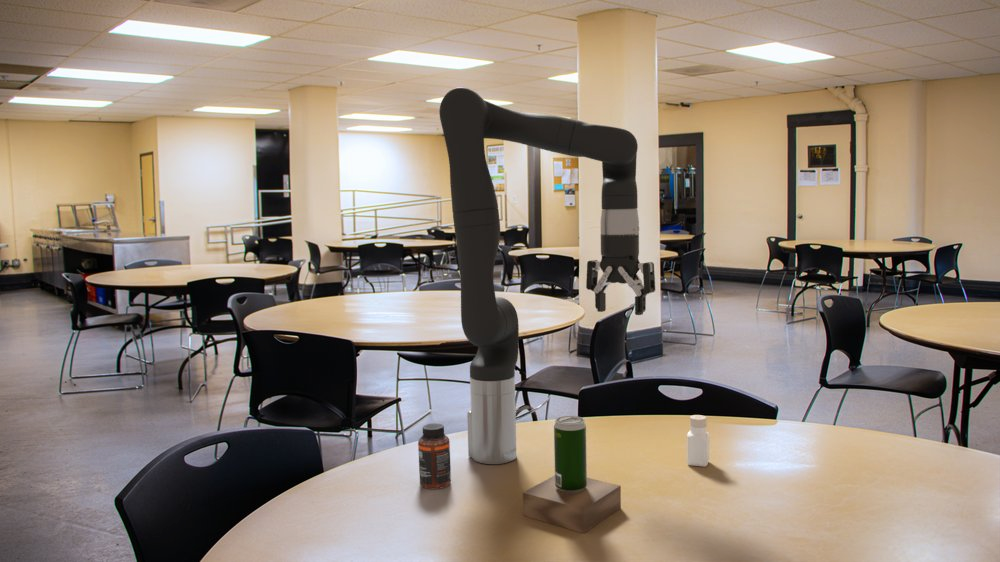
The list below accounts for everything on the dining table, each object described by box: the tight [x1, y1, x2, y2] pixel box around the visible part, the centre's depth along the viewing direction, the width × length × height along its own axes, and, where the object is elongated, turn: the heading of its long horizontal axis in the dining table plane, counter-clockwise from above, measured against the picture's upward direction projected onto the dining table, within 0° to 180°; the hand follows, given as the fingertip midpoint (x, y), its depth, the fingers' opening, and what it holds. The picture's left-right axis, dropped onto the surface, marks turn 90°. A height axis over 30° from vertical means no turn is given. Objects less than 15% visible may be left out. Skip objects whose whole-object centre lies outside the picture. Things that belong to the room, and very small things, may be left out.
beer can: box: [553, 415, 588, 494], centre depth 127 cm, size 5×5×12 cm
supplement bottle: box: [417, 422, 452, 490], centre depth 142 cm, size 6×6×11 cm
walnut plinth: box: [522, 474, 622, 534], centre depth 128 cm, size 12×12×4 cm
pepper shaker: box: [686, 414, 710, 468], centre depth 149 cm, size 4×4×10 cm
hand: (620, 313), depth 151 cm, fingers open, 8 cm apart
